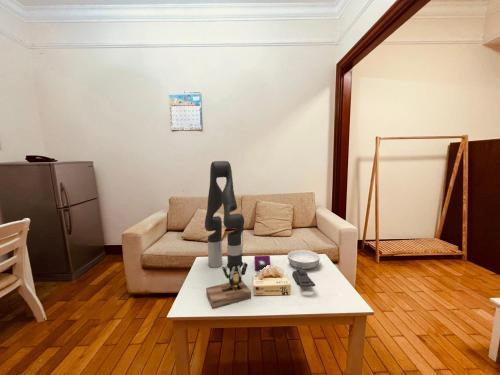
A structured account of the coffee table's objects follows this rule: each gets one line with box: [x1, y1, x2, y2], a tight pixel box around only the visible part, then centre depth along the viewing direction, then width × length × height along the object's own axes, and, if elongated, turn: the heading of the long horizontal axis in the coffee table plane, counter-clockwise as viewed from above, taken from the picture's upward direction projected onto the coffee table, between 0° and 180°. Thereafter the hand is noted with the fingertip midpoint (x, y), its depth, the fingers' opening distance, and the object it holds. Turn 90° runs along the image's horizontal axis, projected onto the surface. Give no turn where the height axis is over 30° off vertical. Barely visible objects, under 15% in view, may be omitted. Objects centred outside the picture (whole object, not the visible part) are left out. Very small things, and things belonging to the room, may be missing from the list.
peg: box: [231, 271, 240, 292], centre depth 123 cm, size 4×4×11 cm
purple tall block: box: [253, 255, 271, 271], centre depth 157 cm, size 10×8×18 cm
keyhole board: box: [205, 280, 252, 310], centre depth 122 cm, size 13×20×4 cm, turn 114°
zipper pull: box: [291, 267, 316, 288], centre depth 133 cm, size 9×7×25 cm
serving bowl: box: [287, 249, 321, 270], centre depth 156 cm, size 21×21×7 cm
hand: (235, 283), depth 123 cm, fingers closed on peg, 3 cm apart
